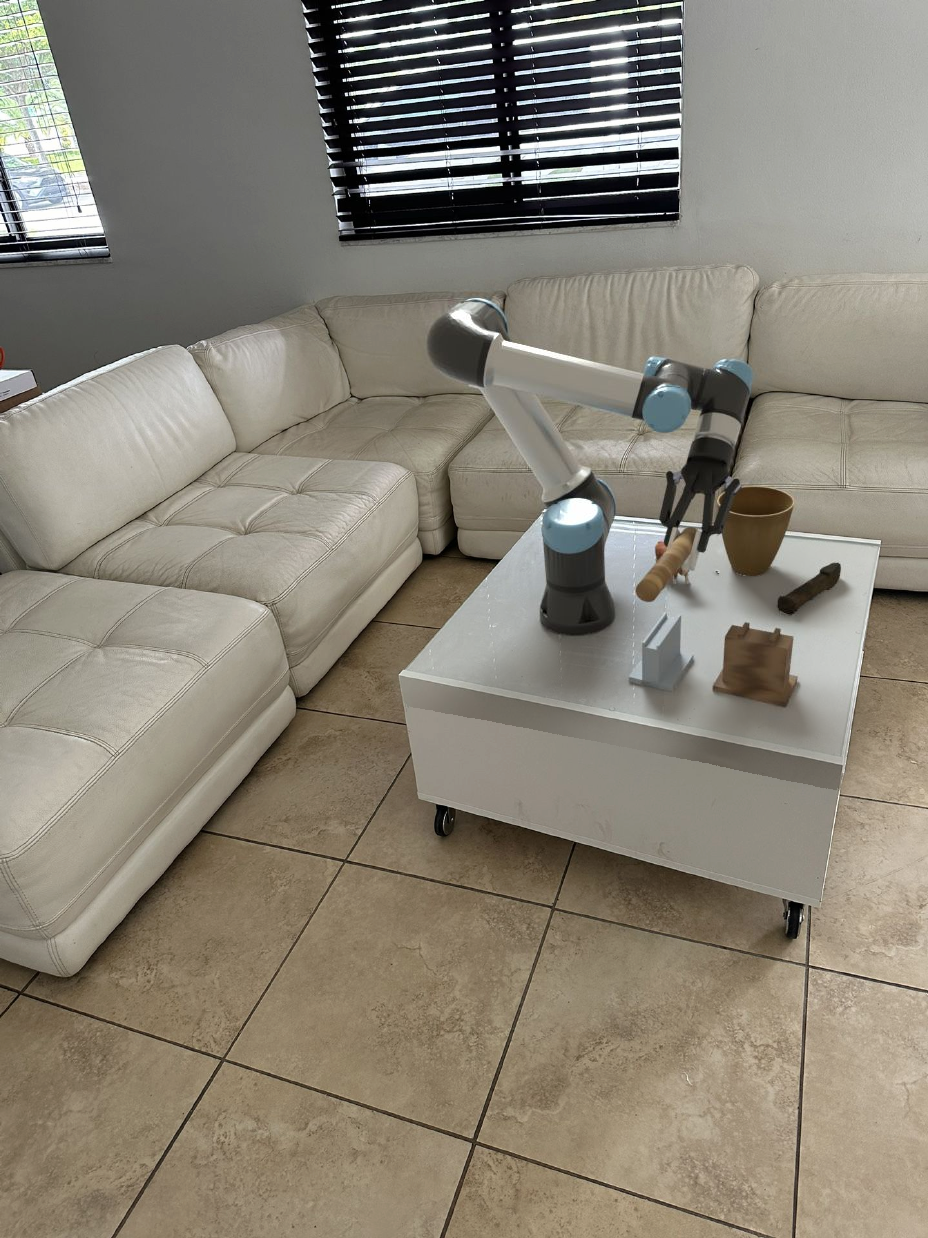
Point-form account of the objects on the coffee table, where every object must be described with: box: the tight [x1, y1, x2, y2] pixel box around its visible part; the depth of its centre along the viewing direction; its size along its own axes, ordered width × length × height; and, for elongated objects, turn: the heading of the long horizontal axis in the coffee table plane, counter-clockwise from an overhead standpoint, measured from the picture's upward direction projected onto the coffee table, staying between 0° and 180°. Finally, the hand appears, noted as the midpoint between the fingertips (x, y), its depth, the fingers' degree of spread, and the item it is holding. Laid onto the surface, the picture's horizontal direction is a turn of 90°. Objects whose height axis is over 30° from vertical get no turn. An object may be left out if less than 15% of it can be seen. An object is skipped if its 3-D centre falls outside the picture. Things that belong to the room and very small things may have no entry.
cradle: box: [628, 611, 695, 693], centre depth 143 cm, size 8×11×9 cm
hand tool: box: [776, 562, 842, 616], centre depth 160 cm, size 19×4×5 cm, turn 125°
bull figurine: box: [654, 540, 691, 586], centre depth 171 cm, size 4×13×8 cm, turn 16°
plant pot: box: [716, 485, 795, 577], centre depth 169 cm, size 15×15×16 cm
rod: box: [635, 526, 699, 603], centre depth 138 cm, size 22×4×4 cm, turn 148°
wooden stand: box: [712, 621, 798, 708], centre depth 136 cm, size 12×8×11 cm, turn 58°
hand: (678, 565), depth 143 cm, fingers closed on rod, 3 cm apart
